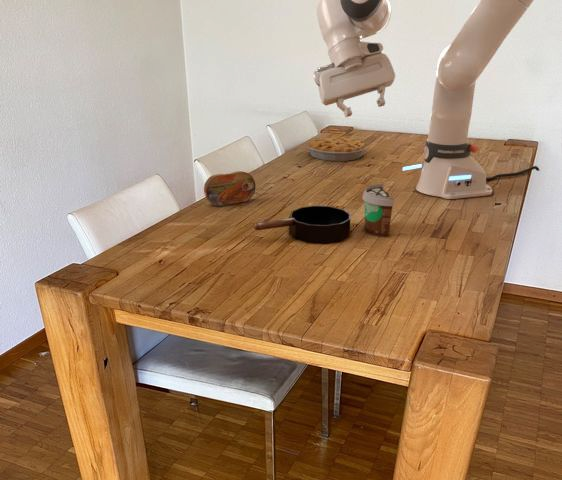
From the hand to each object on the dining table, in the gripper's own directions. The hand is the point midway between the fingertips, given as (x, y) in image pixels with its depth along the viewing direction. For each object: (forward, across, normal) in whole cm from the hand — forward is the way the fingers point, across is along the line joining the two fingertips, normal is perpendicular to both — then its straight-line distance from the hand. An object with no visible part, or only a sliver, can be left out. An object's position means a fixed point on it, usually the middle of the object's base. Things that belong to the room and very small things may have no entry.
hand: (365, 110), depth 152 cm
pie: (-8, +10, +63) cm, 64 cm away
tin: (+8, -39, +19) cm, 44 cm away
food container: (+30, -10, -4) cm, 32 cm away
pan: (+26, -28, -6) cm, 39 cm away
